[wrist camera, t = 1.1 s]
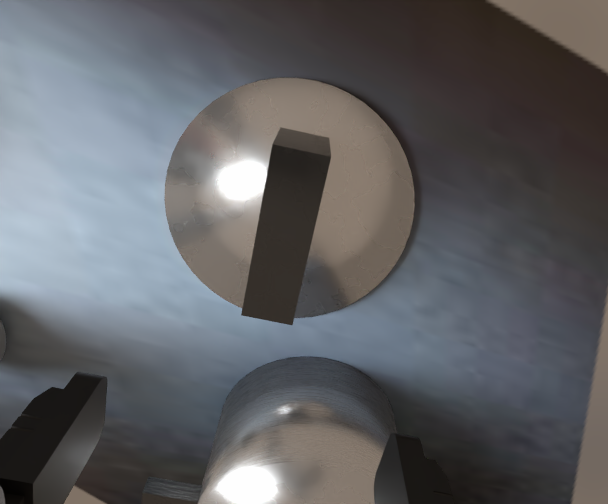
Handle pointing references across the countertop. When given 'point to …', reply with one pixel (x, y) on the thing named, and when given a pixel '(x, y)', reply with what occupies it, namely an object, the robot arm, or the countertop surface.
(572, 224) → the countertop surface
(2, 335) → the plastic bottle
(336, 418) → the cooker pot
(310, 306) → the cooker lid
